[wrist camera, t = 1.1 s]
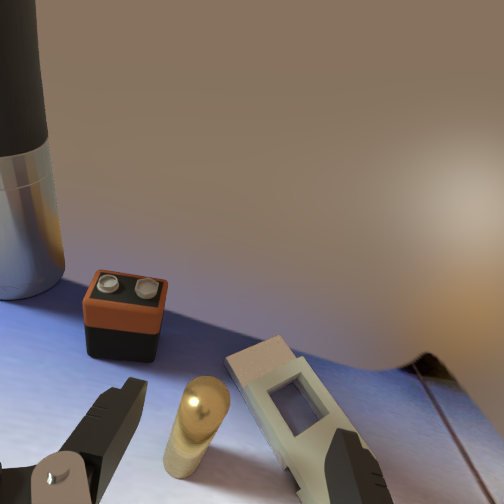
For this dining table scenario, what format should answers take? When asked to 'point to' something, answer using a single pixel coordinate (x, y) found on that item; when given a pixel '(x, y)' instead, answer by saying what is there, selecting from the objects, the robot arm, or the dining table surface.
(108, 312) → the battery
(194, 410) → the pin
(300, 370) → the plate with square hole
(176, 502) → the dining table surface
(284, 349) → the chain end lower
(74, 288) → the dining table surface
